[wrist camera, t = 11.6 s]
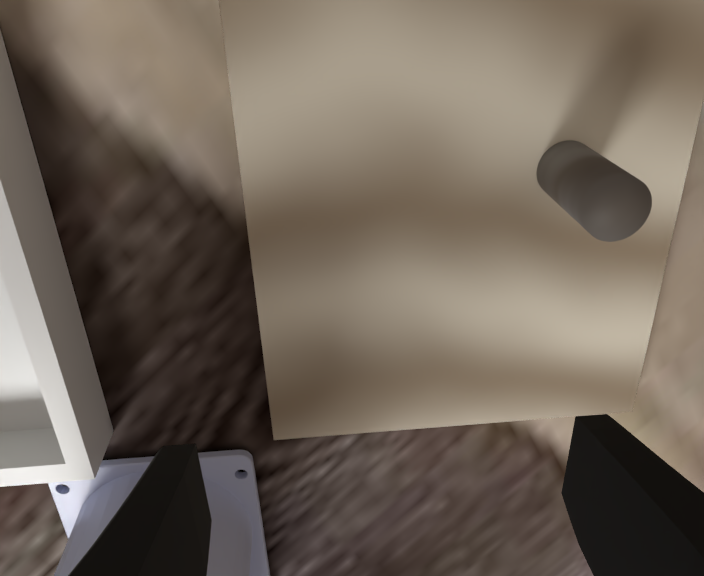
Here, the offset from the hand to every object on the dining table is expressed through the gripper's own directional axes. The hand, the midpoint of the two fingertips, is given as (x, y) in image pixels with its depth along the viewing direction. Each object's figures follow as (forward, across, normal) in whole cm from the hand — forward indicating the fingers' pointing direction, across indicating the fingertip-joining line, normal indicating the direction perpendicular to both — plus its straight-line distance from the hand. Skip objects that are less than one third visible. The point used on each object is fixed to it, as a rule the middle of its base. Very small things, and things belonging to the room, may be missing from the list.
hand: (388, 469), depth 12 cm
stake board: (+10, -4, 0) cm, 11 cm away
